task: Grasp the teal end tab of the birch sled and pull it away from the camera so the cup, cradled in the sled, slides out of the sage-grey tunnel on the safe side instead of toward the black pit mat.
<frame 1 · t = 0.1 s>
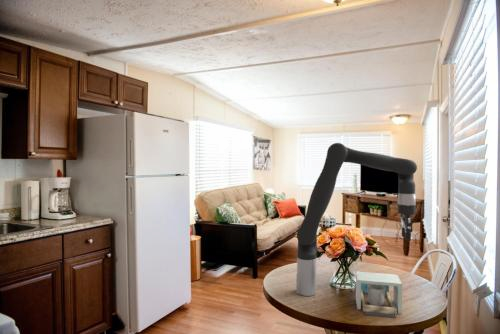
hand: (406, 238, 155), 29 cm above the table, fingers open, 8 cm apart
cup: (377, 306, 152), resting in sled
tunnel: (377, 305, 152), on the table
pit mat: (380, 315, 142), on the table
sled: (376, 292, 155), point 4 cm above the table, slide at 0.0 cm
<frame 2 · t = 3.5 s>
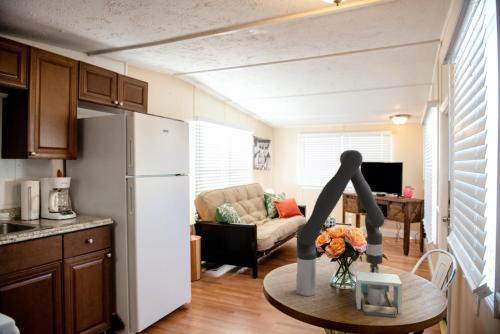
hand: (374, 287, 166), 3 cm above the table, fingers closed on sled
sled: (376, 292, 156), point 5 cm above the table, slide at 0.0 cm, touching gripper
everything else where it was.
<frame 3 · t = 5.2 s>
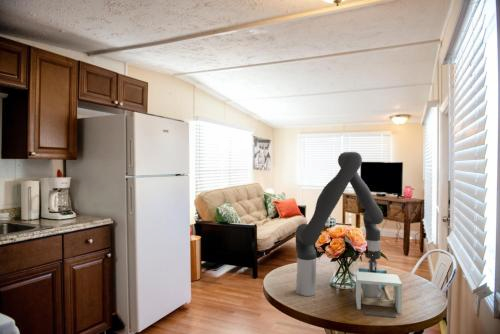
hand: (372, 282, 174), 3 cm above the table, fingers closed on sled
cup: (373, 300, 157), resting in sled
sled: (374, 286, 163), point 4 cm above the table, slide at 8.1 cm, touching gripper
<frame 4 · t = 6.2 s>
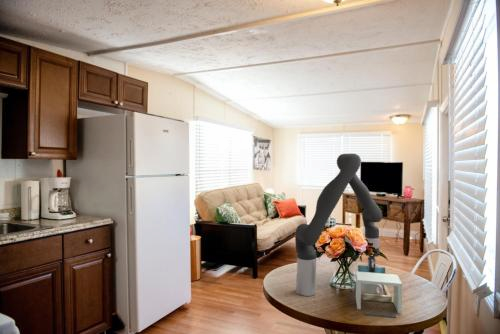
hand: (371, 278, 179), 3 cm above the table, fingers closed on sled
cup: (372, 296, 162), resting in sled
sled: (373, 282, 168), point 4 cm above the table, slide at 13.3 cm, touching cup, gripper
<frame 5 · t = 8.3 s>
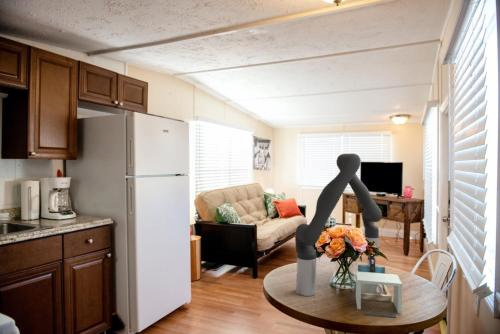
hand: (371, 276, 180), 4 cm above the table, fingers open, 8 cm apart
cup: (372, 296, 163), resting in sled
sled: (373, 281, 169), point 5 cm above the table, slide at 13.9 cm
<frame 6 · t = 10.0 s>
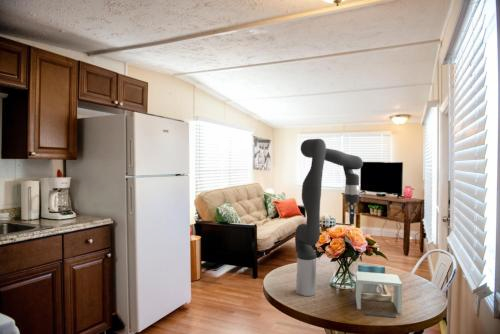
hand: (351, 223, 185), 31 cm above the table, fingers open, 8 cm apart
nothing on the table moved.
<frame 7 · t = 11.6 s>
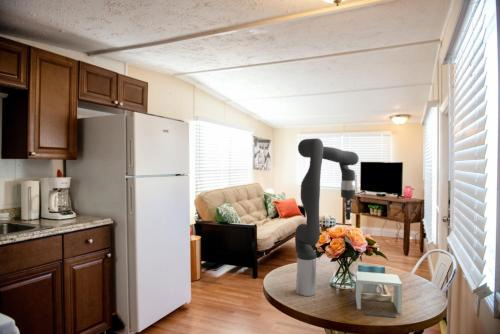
hand: (347, 218, 186), 33 cm above the table, fingers open, 8 cm apart
nothing on the table moved.
at the end: cup inside the target area (5.3 cm from its centre), resting in sled; sled slide at 13.9 cm; cup tilted 0° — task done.
